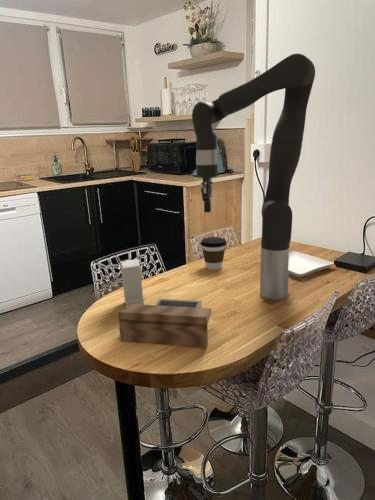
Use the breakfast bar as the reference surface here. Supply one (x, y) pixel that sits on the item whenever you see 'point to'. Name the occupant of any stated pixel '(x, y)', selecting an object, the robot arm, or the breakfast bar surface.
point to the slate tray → (178, 303)
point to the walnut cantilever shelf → (164, 325)
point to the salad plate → (305, 264)
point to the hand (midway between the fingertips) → (207, 211)
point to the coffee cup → (213, 252)
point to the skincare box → (132, 282)
